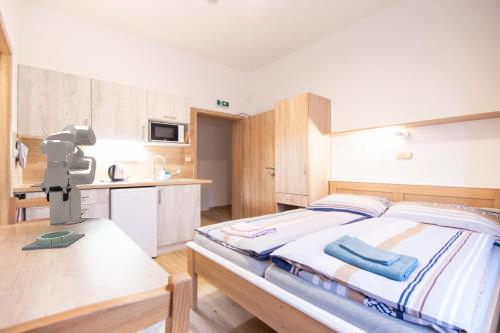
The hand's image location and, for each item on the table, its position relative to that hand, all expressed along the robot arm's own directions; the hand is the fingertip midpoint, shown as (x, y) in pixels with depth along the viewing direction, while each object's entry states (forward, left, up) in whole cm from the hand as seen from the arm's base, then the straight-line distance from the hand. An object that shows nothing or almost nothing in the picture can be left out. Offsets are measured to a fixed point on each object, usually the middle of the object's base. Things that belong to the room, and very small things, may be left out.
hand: (57, 200), depth 117 cm
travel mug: (0, 0, -12) cm, 12 cm away
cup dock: (+14, +6, -17) cm, 22 cm away
